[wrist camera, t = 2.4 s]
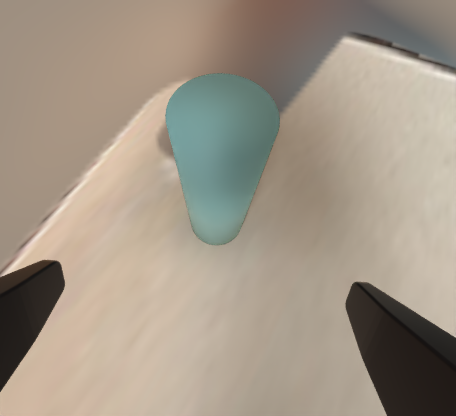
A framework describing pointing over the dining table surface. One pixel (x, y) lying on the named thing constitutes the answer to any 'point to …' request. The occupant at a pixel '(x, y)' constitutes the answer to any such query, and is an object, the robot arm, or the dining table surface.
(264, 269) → the dining table surface
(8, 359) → the robot arm
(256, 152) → the post
